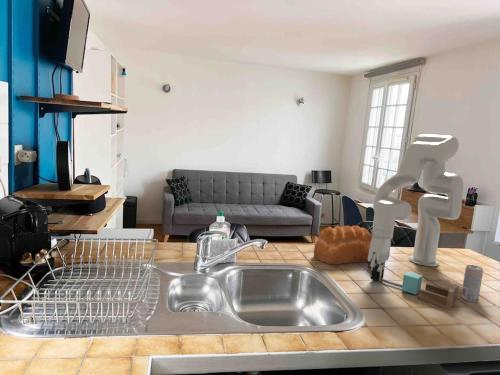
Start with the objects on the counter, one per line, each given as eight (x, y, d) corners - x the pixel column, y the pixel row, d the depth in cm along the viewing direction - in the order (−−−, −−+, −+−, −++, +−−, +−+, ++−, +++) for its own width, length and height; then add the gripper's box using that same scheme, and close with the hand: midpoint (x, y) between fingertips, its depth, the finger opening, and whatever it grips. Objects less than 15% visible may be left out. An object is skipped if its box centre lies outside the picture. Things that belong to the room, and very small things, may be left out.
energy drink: (476, 298, 136) (481, 266, 134) (479, 303, 131) (485, 271, 129) (459, 294, 138) (464, 263, 136) (462, 300, 133) (467, 268, 131)
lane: (425, 292, 138) (427, 276, 137) (456, 301, 131) (458, 285, 131) (417, 299, 131) (420, 282, 130) (449, 309, 125) (452, 292, 124)
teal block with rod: (370, 280, 145) (372, 265, 144) (375, 276, 148) (377, 262, 148) (415, 294, 134) (418, 278, 133) (420, 291, 137) (422, 275, 137)
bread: (310, 256, 171) (313, 223, 169) (356, 252, 182) (359, 221, 180) (328, 266, 158) (332, 231, 156) (376, 262, 169) (380, 228, 167)
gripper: (381, 227, 151) (375, 271, 154) (363, 234, 139) (358, 281, 142) (400, 232, 147) (394, 277, 149) (383, 239, 134) (377, 287, 137)
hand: (376, 278), depth 146 cm, fingers closed on teal block with rod, 3 cm apart
